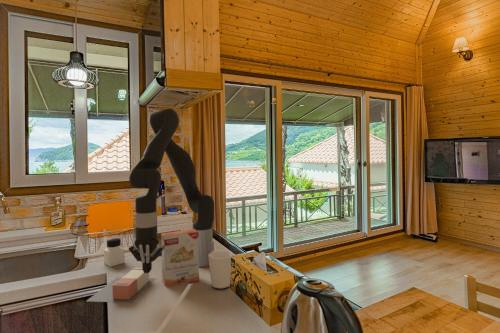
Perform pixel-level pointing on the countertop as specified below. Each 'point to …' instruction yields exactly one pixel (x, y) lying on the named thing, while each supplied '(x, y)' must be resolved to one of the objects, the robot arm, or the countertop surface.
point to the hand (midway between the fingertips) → (147, 272)
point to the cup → (220, 268)
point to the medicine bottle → (114, 252)
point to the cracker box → (180, 257)
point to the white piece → (107, 291)
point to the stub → (124, 288)
